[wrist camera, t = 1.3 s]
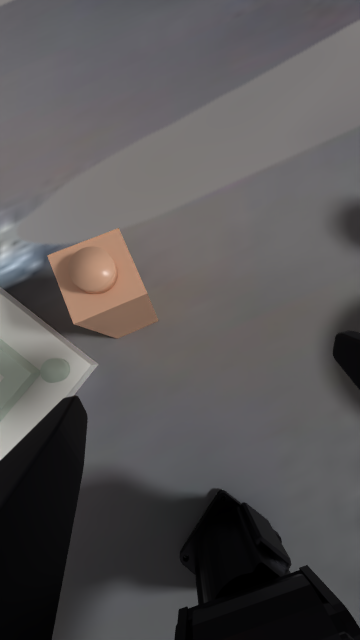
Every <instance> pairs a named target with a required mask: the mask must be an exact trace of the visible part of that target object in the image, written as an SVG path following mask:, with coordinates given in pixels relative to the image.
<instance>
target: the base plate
mask: <svg viewBox="0 0 360 640" xmlns="http://www.w3.org/2000/svg"><path fill="white" fill-rule="evenodd" d="M98 365H99V364H97V363H96V362H95V361H94V360H92V359H91V358H90V357H89V356H87V355H86V354H85V353H84V352H82V351H81V350H80V349H78V348H77V347H76V346H75V345H73V344H72V343H71V342H70V341H68V340H67V339H66V338H64V337H63V336H62V335H61V334H59V333H58V332H57V331H56V330H54V329H53V328H52V327H51V326H49V325H48V324H47V323H45V322H44V321H43V320H42V319H40V318H39V317H38V316H37V315H35V314H34V313H33V312H32V311H30V310H29V309H28V308H26V307H25V306H24V305H23V304H21V303H20V302H19V301H18V300H16V299H15V298H14V297H12V296H11V295H10V294H9V293H7V292H6V291H5V290H4V289H2V288H1V287H0V460H1V459H2V458H3V457H4V456H5V455H6V454H7V453H8V452H9V451H10V450H11V449H12V448H13V447H14V446H15V445H16V444H17V443H18V442H20V441H21V440H22V439H23V438H24V437H25V436H26V435H27V434H28V433H29V432H30V431H31V430H32V429H33V428H34V427H35V426H36V425H37V424H38V423H39V422H40V421H41V420H42V419H43V418H44V417H45V416H46V415H47V414H48V413H49V412H50V411H51V410H52V409H53V408H54V407H55V406H56V405H57V404H58V403H59V402H60V401H61V400H62V399H63V398H66V397H70V396H74V395H75V393H76V392H77V391H78V390H79V388H80V387H81V386H82V385H83V383H84V382H85V381H86V380H87V378H88V377H89V376H90V375H91V373H92V372H93V371H94V370H95V368H96V367H97V366H98Z"/></svg>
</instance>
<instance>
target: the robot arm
mask: <svg viewBox="0 0 360 640" xmlns="http://www.w3.org/2000/svg"><path fill="white" fill-rule="evenodd" d="M333 356H334V358H335V360H336V361H337V362H338V364H339V365H340V366H341V367H342V369H343V370H344V371H345V372H346V374H347V375H348V376H349V377H350V379H351V380H352V381H353V382H354V384H355V385H356V386H357V387H358V388H359V390H360V333H359V332H354V331H345V332H341V333H338V334H337V335H336V337H335V342H334V348H333ZM86 432H87V413H86V411H85V409H84V407H83V405H82V403H81V401H80V399H79V397H78V396H75V395H74V396H70V397H66V398H63V399H62V400H61V401H60V402H59V403H58V404H57V405H56V406H55V407H54V408H53V409H52V410H51V411H50V412H49V413H48V414H47V415H46V416H45V417H44V418H43V419H42V420H41V421H40V422H39V423H38V424H37V425H36V426H35V427H34V428H33V429H32V430H31V431H30V432H29V433H28V434H27V435H26V436H25V437H24V438H23V439H22V440H21V441H20V442H18V443H17V444H16V445H15V446H14V447H13V448H12V449H11V450H10V451H9V452H8V453H7V454H6V455H5V456H4V457H3V458H2V459H1V460H0V640H52V635H53V629H54V624H55V618H56V613H57V608H58V602H59V597H60V592H61V586H62V581H63V576H64V570H65V565H66V559H67V554H68V549H69V543H70V538H71V533H72V527H73V522H74V517H75V511H76V506H77V500H78V495H79V490H80V484H81V479H82V473H83V467H84V457H85V444H86ZM222 496H225V499H223V500H222V499H221V497H222ZM281 543H282V541H281V538H280V536H279V534H278V533H277V532H276V531H275V530H273V528H272V527H271V525H270V523H269V521H268V520H267V519H266V518H264V517H263V516H262V515H260V514H259V513H258V512H257V511H255V510H254V509H253V508H252V507H250V506H249V505H248V504H247V503H240V502H238V501H237V500H236V499H235V498H233V497H232V496H231V495H230V494H228V493H227V492H226V491H224V490H221V491H219V492H218V493H217V495H216V497H215V498H214V500H213V501H212V503H211V504H210V506H209V507H208V509H207V511H206V512H205V514H204V515H203V517H202V518H201V520H200V522H199V523H198V525H197V526H196V528H195V529H194V531H193V532H192V534H191V536H190V537H189V539H188V540H187V542H186V543H185V545H184V547H183V548H182V550H181V552H180V561H181V563H182V564H183V565H184V566H185V567H187V568H188V569H189V570H190V571H191V572H192V573H194V574H195V576H196V586H197V595H198V605H197V606H195V607H192V608H189V609H188V607H184V608H181V609H179V613H178V623H177V625H176V630H175V640H360V628H359V626H358V625H357V623H356V621H355V620H354V618H353V617H352V615H351V614H350V612H349V611H348V610H347V608H346V607H345V606H344V605H343V603H342V602H341V601H340V600H339V599H338V598H337V597H336V596H335V595H334V594H333V592H332V591H331V590H330V589H329V588H328V587H327V586H326V585H325V584H324V583H323V582H322V581H321V580H320V578H319V577H318V576H317V575H316V574H315V573H314V572H313V571H312V570H311V569H310V568H309V567H308V566H307V565H306V566H303V567H300V568H299V569H300V570H299V571H296V572H293V573H290V571H289V568H290V566H291V561H290V558H289V556H288V554H287V552H286V551H285V549H284V547H283V546H282V544H281ZM184 555H188V557H187V558H185V557H183V556H184Z"/></svg>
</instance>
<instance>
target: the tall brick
mask: <svg viewBox="0 0 360 640" xmlns="http://www.w3.org/2000/svg"><path fill="white" fill-rule="evenodd" d="M47 256H48V258H49V261H50V264H51V266H52V269H53V271H54V274H55V277H56V279H57V282H58V285H59V287H60V290H61V292H62V295H63V298H64V300H65V303H66V305H67V308H68V311H69V313H70V316H71V319H72V321H73V324H74V325H77V326H80V327H84V328H87V329H90V330H93V331H96V332H99V333H102V334H105V335H108V336H111V337H114V338H117V339H118V338H120V337H122V336H125V335H127V334H129V333H132V332H134V331H136V330H139V329H141V328H143V327H145V326H148V325H150V324H152V323H155V322H157V321H158V319H157V316H156V314H155V311H154V309H153V306H152V304H151V301H150V299H149V296H148V294H147V292H146V289H145V287H144V285H143V282H142V280H141V278H140V276H139V273H138V271H137V269H136V266H135V264H134V262H133V260H132V257H131V255H130V253H129V251H128V248H127V246H126V244H125V241H124V239H123V237H122V235H121V232H120V230H119V228H117V229H115V230H112V231H110V232H107V233H104V234H102V235H99V236H97V237H94V238H91V239H89V240H86V241H84V242H81V243H79V244H76V245H73V246H71V247H68V248H66V249H63V250H60V251H58V252H55V253H53V254H50V255H47Z"/></svg>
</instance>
